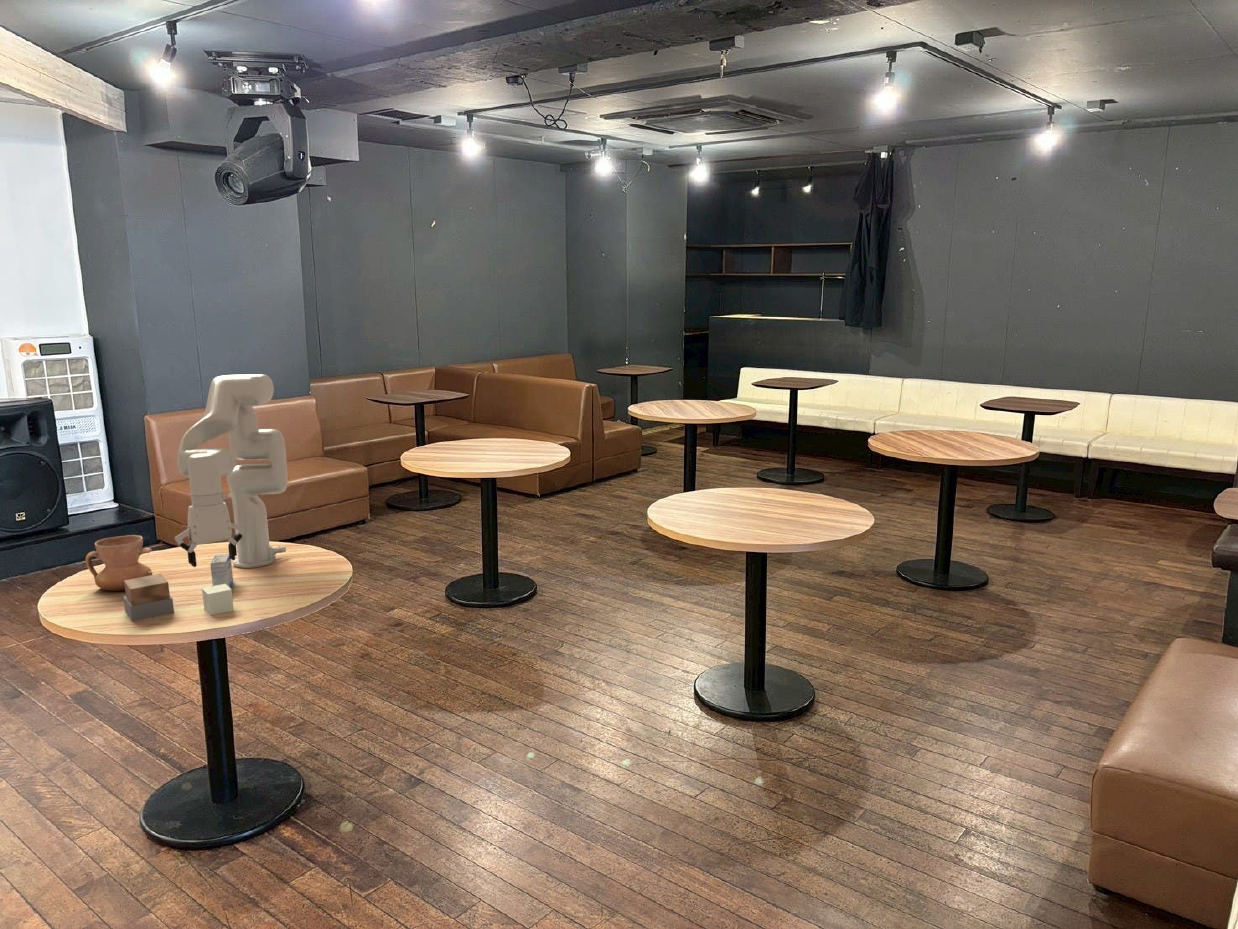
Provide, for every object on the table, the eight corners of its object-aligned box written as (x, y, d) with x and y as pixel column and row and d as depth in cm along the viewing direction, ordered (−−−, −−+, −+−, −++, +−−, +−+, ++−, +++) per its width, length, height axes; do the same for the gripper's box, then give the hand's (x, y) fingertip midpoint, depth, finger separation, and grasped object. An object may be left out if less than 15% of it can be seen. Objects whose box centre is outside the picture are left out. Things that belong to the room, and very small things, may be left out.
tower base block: (166, 603, 240) (164, 588, 239) (174, 614, 233) (172, 598, 232) (125, 612, 234) (123, 596, 233) (132, 623, 227) (130, 606, 226)
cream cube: (227, 604, 239) (225, 583, 238) (233, 610, 234) (231, 589, 233) (204, 609, 235) (201, 588, 234) (209, 615, 231) (207, 594, 230)
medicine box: (229, 590, 250) (226, 561, 248) (213, 591, 249) (210, 563, 247) (233, 581, 258) (230, 553, 256) (217, 583, 256) (214, 555, 255)
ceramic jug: (165, 577, 262) (159, 531, 259) (144, 593, 248) (138, 545, 245) (102, 580, 260) (96, 535, 257) (78, 597, 246) (71, 548, 243)
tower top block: (162, 589, 239) (160, 573, 238) (170, 598, 232) (168, 582, 231) (125, 596, 233) (123, 580, 232) (132, 605, 226) (130, 589, 226)
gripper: (237, 493, 237) (243, 553, 240) (168, 502, 226) (174, 565, 229) (245, 497, 231) (251, 559, 234) (174, 507, 220) (181, 571, 224)
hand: (213, 562), depth 232 cm, fingers open, 9 cm apart
